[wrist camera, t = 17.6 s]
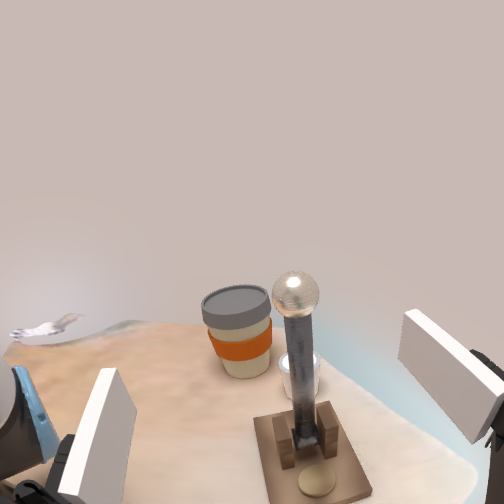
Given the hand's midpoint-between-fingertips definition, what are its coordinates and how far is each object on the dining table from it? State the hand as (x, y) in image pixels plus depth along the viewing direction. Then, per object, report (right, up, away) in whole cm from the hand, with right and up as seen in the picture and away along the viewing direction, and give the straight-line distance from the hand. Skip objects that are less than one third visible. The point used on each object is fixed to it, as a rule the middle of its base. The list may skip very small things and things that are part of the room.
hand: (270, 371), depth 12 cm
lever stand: (+7, -23, +21) cm, 32 cm away
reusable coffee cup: (-2, -18, +46) cm, 49 cm away
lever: (+6, -19, +20) cm, 29 cm away
